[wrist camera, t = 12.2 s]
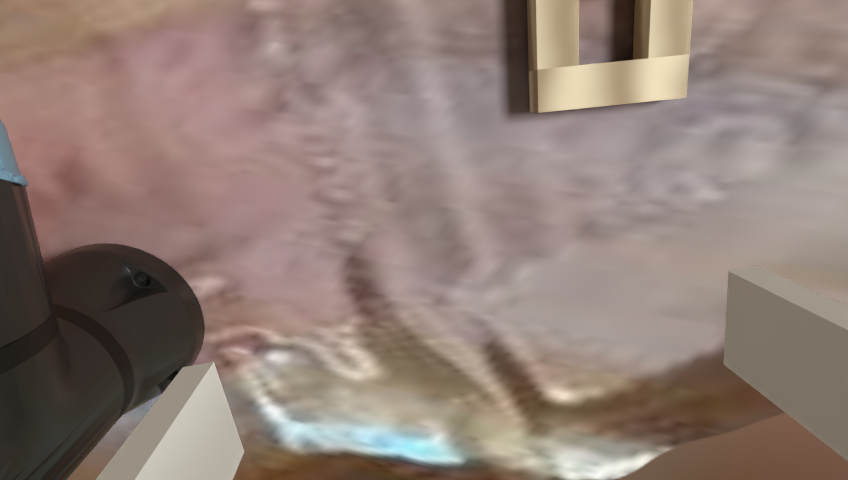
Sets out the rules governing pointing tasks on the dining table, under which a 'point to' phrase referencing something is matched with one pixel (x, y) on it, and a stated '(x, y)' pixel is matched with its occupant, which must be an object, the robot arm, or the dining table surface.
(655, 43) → the mount
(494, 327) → the dining table surface
